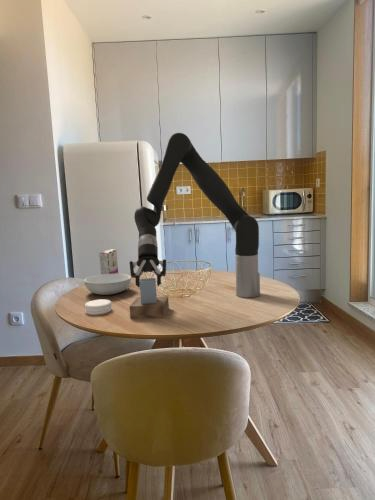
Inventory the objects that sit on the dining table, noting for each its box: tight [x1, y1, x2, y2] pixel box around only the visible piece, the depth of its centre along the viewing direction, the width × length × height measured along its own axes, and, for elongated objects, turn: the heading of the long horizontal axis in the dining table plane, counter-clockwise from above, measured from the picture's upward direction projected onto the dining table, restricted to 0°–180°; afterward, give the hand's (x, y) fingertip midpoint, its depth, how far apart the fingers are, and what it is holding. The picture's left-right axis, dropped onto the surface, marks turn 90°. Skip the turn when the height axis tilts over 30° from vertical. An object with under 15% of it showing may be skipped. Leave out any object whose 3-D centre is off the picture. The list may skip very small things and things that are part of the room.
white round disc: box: [84, 298, 113, 316], centre depth 149 cm, size 10×10×4 cm
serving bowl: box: [83, 273, 132, 296], centre depth 176 cm, size 21×21×7 cm
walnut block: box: [129, 296, 170, 320], centre depth 143 cm, size 12×12×5 cm
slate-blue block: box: [139, 277, 158, 304], centre depth 142 cm, size 6×6×8 cm
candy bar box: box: [98, 248, 119, 275], centre depth 195 cm, size 11×5×16 cm, turn 168°
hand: (148, 285), depth 140 cm, fingers open, 6 cm apart
